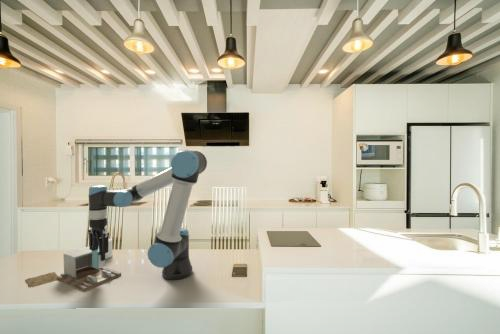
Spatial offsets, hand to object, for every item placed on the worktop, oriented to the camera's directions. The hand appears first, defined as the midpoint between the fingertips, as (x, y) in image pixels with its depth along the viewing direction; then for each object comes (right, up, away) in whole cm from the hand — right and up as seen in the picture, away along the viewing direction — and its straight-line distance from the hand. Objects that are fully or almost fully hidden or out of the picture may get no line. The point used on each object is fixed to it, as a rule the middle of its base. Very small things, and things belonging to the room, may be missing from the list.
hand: (98, 265), depth 129 cm
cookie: (-28, -8, +2) cm, 30 cm away
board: (-7, -7, +4) cm, 11 cm away
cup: (-16, -6, +31) cm, 36 cm away
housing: (-13, -6, +8) cm, 16 cm away
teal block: (0, 0, 0) cm, 0 cm away
